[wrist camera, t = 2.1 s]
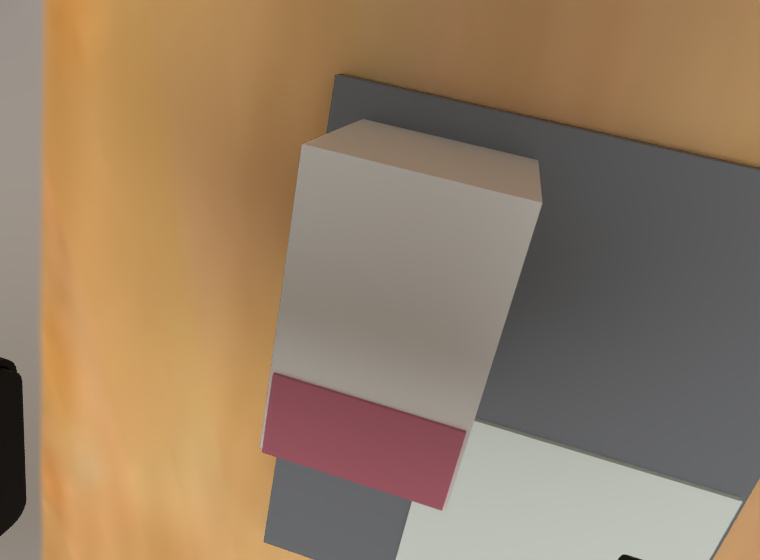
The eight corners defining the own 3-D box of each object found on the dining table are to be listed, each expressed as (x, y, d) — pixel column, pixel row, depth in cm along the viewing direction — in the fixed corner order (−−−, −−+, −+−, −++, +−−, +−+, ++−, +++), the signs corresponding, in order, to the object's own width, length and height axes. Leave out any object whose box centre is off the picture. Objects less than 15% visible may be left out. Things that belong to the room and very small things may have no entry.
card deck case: (363, 119, 17) (300, 144, 12) (538, 159, 16) (542, 203, 11) (320, 358, 20) (258, 451, 15) (465, 401, 19) (446, 512, 15)
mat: (341, 74, 17) (333, 74, 16) (902, 200, 15) (921, 208, 14) (269, 530, 24) (261, 545, 23) (643, 659, 22) (647, 680, 21)
